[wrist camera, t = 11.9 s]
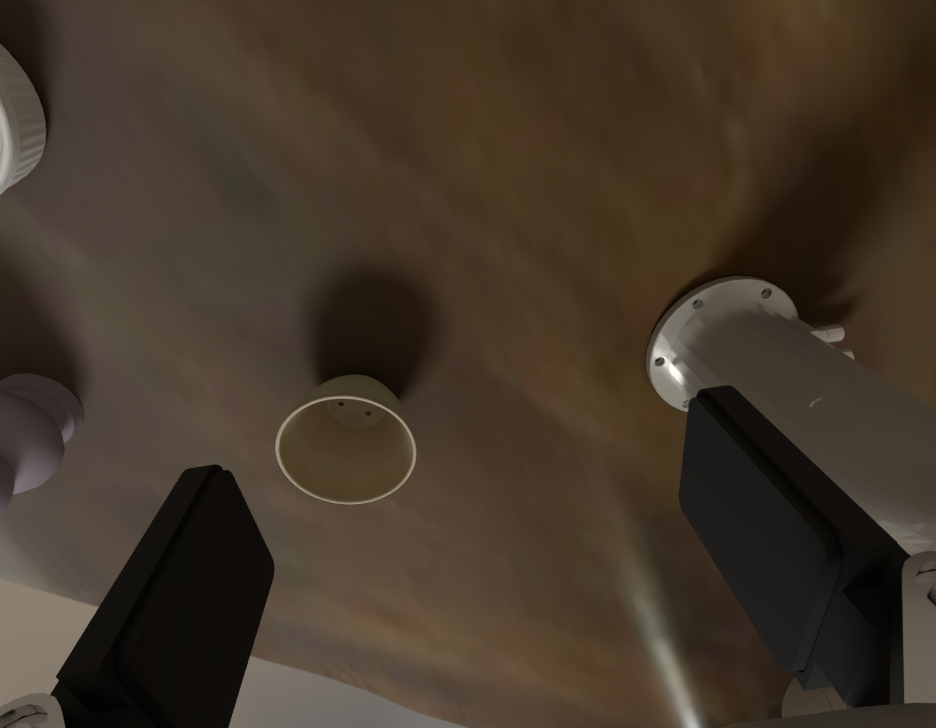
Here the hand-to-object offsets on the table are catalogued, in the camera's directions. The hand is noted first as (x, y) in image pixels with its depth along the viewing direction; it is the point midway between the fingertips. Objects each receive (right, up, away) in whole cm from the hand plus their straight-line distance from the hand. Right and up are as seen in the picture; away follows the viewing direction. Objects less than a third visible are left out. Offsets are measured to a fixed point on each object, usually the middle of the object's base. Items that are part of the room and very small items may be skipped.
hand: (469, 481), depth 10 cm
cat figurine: (-35, -1, +30) cm, 46 cm away
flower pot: (-9, -1, +32) cm, 33 cm away
